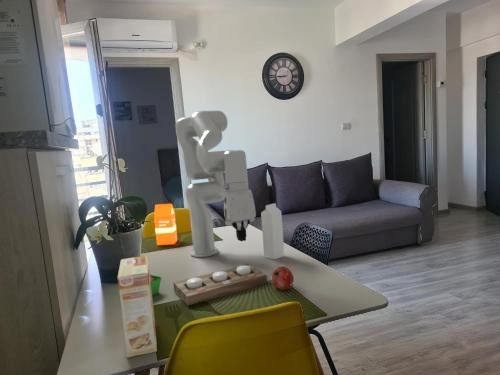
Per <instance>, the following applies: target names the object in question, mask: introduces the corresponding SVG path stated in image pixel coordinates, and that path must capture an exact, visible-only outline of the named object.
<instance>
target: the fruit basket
mask: <svg viewBox="0 0 500 375" xmlns="http://www.w3.org/2000/svg"><path fill="white" fill-rule="evenodd" d="M161 280H162V277H161V276H158V275H154V274H150V281H151V290H152V296H153V295H156V294H159V292H160V286H161Z"/></svg>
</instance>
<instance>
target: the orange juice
mask: <svg viewBox="0 0 500 375" xmlns="http://www.w3.org/2000/svg"><path fill="white" fill-rule="evenodd" d="M153 214H154V216H153V220H154V230H155V239H156V245H157V246H164V245H165V246H166V245H167V246H168V245H175V244H176V243H177V241H178V235H177V234H178V232H177V223H176V213H175V209H174V206H173V204H172V203H160V204H155V205H154V213H153Z"/></svg>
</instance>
